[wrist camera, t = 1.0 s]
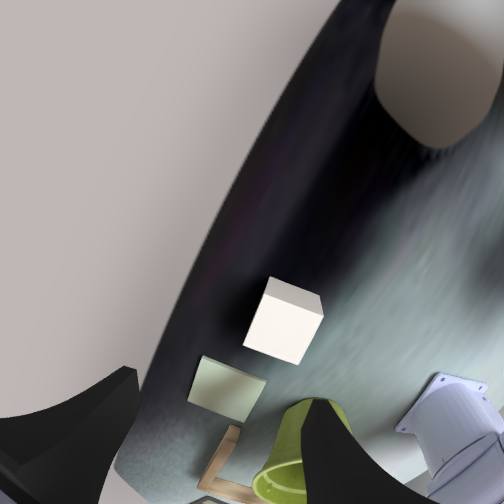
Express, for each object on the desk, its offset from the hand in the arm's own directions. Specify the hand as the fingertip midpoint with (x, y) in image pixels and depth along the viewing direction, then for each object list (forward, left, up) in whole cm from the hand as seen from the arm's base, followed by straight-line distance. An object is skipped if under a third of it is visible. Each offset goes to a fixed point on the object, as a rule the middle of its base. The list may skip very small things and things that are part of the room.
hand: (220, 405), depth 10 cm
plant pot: (-9, +10, -12) cm, 18 cm away
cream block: (-2, 0, -12) cm, 12 cm away
